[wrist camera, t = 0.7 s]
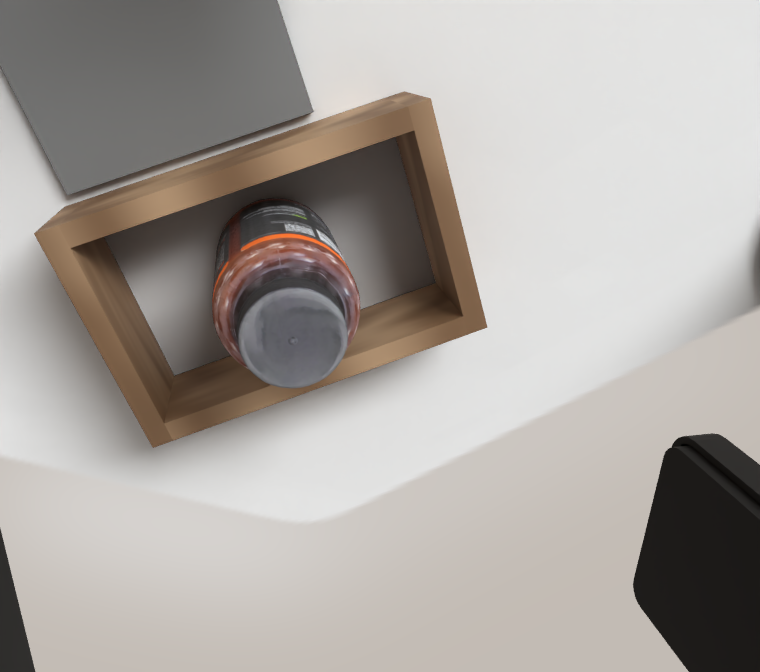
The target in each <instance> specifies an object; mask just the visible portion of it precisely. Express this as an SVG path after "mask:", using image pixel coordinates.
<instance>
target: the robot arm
mask: <svg viewBox="0 0 760 672" xmlns="http://www.w3.org/2000/svg"><path fill="white" fill-rule="evenodd" d="M633 588H634V593H635V597H636V600H637V602H638V604H639V605H640V607H641V609H642V610H643V611H644V613H645V614H646V615H647V616H648V617H649V619H650V620H651V622H652V623H653V624H654V626H655V627H656V629H657V630H658V631H659V633H661V635H662V637H663V638H664V639H665V640H666V642H667V643H668V645H669V646H670V647H671V649H672V650H673V651H674V653H675V654H676V655H677V656H678V658H679V659H680V660H681V662H682V663H683V665H684V666H685V667H686V669H687V670H688V671H689V672H760V465H759V464H758V463H757V462H755V461H754V460H753V459H752V458H750V457H749V456H748V455H746V454H745V453H744V452H743V451H741V450H740V449H739V448H737V447H736V446H735V445H733V444H732V443H731V442H730V441H728V440H727V439H726V438H724V437H723V436H721V435H719V434H703V435H693V436H684V437H680V438H678V439H677V440H676V441H675V442H674V443H673V445H672V448H669V449H668V450H667V451H666V452H665V455H664V458H663V462H662V466H661V470H660V474H659V479H658V483H657V487H656V491H655V495H654V499H653V503H652V507H651V511H650V515H649V519H648V523H647V528H646V532H645V536H644V540H643V544H642V548H641V552H640V556H639V560H638V564H637V568H636V573H635V577H634V583H633ZM0 672H35V669H34V665H33V660H32V656H31V652H30V648H29V644H28V640H27V636H26V632H25V628H24V624H23V619H22V615H21V611H20V607H19V603H18V599H17V595H16V591H15V587H14V583H13V579H12V575H11V570H10V566H9V562H8V558H7V554H6V550H5V546H4V542H3V538H2V533H1V530H0Z"/></svg>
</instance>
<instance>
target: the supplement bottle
mask: <svg viewBox="0 0 760 672" xmlns="http://www.w3.org/2000/svg"><path fill="white" fill-rule="evenodd" d="M212 302H213V303H212V312H213V321H214V325H215V329H216V331H217V334H218V336H219V339H220V341H221V342H222V344H223V346H224V347H225V349H226V350H227V351H228V352H229V354H230V355H231V356H232V357H233V358H234V359H235V360H236V361H238V362H239V363H240V364H241V365H243V366H244V367H246V368H247V369H249V370H250V371H251V372H252V373H253V374H254V375H255V376H256V377H258V378H259V379H260V380H262V381H264V382H265V383H268V384H270V385H273V386H277V387H281V388H302V387H306V386H310V385H312V384H315V383H317V382H319V381H321V380H323V379H324V378H326V377H327V376H328V375H330V374H331V373H332V372H333V371H334V370H335V368H336V367H337V366H338V365H339V363H340V362H341V360H342V358H343V356H344V354H345V351H346V350H347V348H348V346H349V345H350V343H351V341H352V340H353V337H354V335H355V334H356V330H357V328H358V323H359V318H360V297H359V292H358V289H357V286H356V283H355V281H354V278H353V276H352V274H351V272H350V270H349V268H348V266H347V264H346V262H345V260H344V258H343V256H342V254H341V252H340V250H339V249H338V247H337V245H336V243H335V241H334V238H333V237H332V235H331V233H330V231H329V229H328V228H327V226H326V225H325V223H324V222H323V221H322V219H321V218H320V217H319V216H318V215H316V213H315V212H313V211H312V210H311V209H310V208H308V207H306V206H304V205H302V204H300V203H297V202H294V201H291V200H287V199H264V200H260V201H256V202H254V203H252V204H250V205H248V206H246V207H244V208H243V209H241V210H240V211H239V212H237V213H236V214H235V215H234V216H233V217H232V218H231V219H230V221H229V222H228V223H227V224H226V226H225V228H224V229H223V232H222V234H221V237H220V240H219V244H218V248H217V255H216V266H215V277H214V288H213V300H212Z"/></svg>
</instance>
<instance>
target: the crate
mask: <svg viewBox="0 0 760 672" xmlns="http://www.w3.org/2000/svg"><path fill="white" fill-rule="evenodd" d="M393 137H396V141H397V145H398V148H399V152H400V155H401V159H402V163H403V166H404V170H405V173H406V177H407V181H408V184H409V188H410V191H411V195H412V199H413V202H414V206H415V209H416V213H417V217H418V220H419V224H420V228H421V231H422V235H423V238H424V242H425V246H426V249H427V253H428V256H429V260H430V264H431V267H432V271H433V274H434V278H435V282H436V283H434V284H432V285H429V286H426V287H423V288H420V289H418V290H415V291H412V292H409V293H406V294H403V295H401V296H398V297H395V298H392V299H389V300H387V301H384V302H381V303H378V304H375V305H372V306H370V307H367V308H364V309H361V310H360V318H359V323H358V328H357V330H356V334H355V335H354V337H353V340H352V341H351V343H350V345H349V346H348V348H347V350H346V351H345V354H344V356H343V358H342V360H341V362H340V363H339V365H338V366H337V367H336V368H335V370H334V371H333V372H332V373H331V374H330V375H328V376H327V377H326V378H324V379H323V380H321V381H319V382H317V383H315V384H312V385H310V386H306V387H302V388H281V387H277V386H273V385H270V384H268V383H265V382H264V381H262V380H260V379H259V378H258V377H256V376H255V375H254V374H253V373H252V372H251V371H250V370H249V369H247V368H246V367H244V366H243V365H241V364H240V363H239V362H238V361H236V360H235V359H234V358H233V357H232V356H229V357H226V358H223V359H220V360H218V361H215V362H212V363H209V364H206V365H203V366H201V367H198V368H195V369H192V370H189V371H187V372H184V373H181V374H178V375H175V376H174V374H173V372H172V370H171V368H170V366H169V364H168V362H167V360H166V358H165V356H164V355H163V353H162V351H161V349H160V347H159V345H158V343H157V341H156V339H155V337H154V335H153V333H152V331H151V329H150V327H149V325H148V323H147V321H146V319H145V317H144V315H143V313H142V311H141V309H140V307H139V305H138V303H137V301H136V299H135V297H134V295H133V293H132V291H131V289H130V287H129V285H128V283H127V281H126V279H125V277H124V276H123V274H122V272H121V270H120V268H119V266H118V264H117V262H116V260H115V258H114V256H113V254H112V252H111V250H110V248H109V246H108V244H107V242H106V240H105V238H104V236H107V235H110V234H113V233H116V232H119V231H122V230H125V229H128V228H131V227H134V226H136V225H139V224H142V223H145V222H148V221H151V220H154V219H157V218H160V217H163V216H166V215H169V214H171V213H174V212H177V211H180V210H183V209H186V208H189V207H192V206H195V205H198V204H201V203H204V202H206V201H209V200H212V199H215V198H218V197H221V196H224V195H227V194H230V193H233V192H236V191H239V190H242V189H244V188H247V187H250V186H253V185H256V184H259V183H262V182H265V181H268V180H271V179H274V178H277V177H279V176H282V175H285V174H288V173H291V172H294V171H297V170H300V169H303V168H306V167H309V166H312V165H314V164H317V163H320V162H323V161H326V160H329V159H332V158H335V157H338V156H341V155H344V154H347V153H350V152H352V151H355V150H358V149H361V148H364V147H367V146H370V145H373V144H376V143H379V142H382V141H385V140H387V139H390V138H393ZM34 234H35V236H36V238H37V240H38V242H39V243H40V245H41V247H42V249H43V251H44V252H45V254H46V256H47V258H48V260H49V261H50V263H51V265H52V267H53V269H54V270H55V272H56V274H57V276H58V278H59V279H60V281H61V283H62V285H63V287H64V289H65V290H66V292H67V294H68V296H69V298H70V299H71V301H72V303H73V305H74V307H75V308H76V310H77V312H78V314H79V316H80V317H81V319H82V321H83V323H84V325H85V326H86V328H87V330H88V332H89V334H90V335H91V337H92V339H93V341H94V343H95V344H96V346H97V348H98V350H99V352H100V353H101V355H102V357H103V359H104V361H105V362H106V364H107V366H108V368H109V370H110V371H111V373H112V375H113V377H114V379H115V380H116V382H117V384H118V386H119V388H120V389H121V391H122V393H123V395H124V397H125V398H126V400H127V402H128V404H129V406H130V407H131V409H132V411H133V413H134V415H135V416H136V418H137V420H138V422H139V424H140V425H141V427H142V429H143V431H144V433H145V434H146V436H147V438H148V440H149V442H150V443H151V445H152V447H153V448H154V447H156V446H159V445H162V444H165V443H168V442H170V441H173V440H176V439H179V438H181V437H184V436H187V435H190V434H193V433H195V432H198V431H201V430H204V429H206V428H209V427H212V426H215V425H218V424H220V423H223V422H226V421H229V420H231V419H234V418H237V417H240V416H243V415H245V414H248V413H251V412H254V411H256V410H259V409H262V408H265V407H268V406H270V405H273V404H276V403H279V402H281V401H284V400H287V399H290V398H293V397H295V396H298V395H301V394H304V393H306V392H309V391H312V390H315V389H318V388H320V387H323V386H326V385H329V384H331V383H334V382H337V381H340V380H343V379H345V378H348V377H351V376H354V375H356V374H359V373H362V372H365V371H368V370H370V369H373V368H376V367H379V366H381V365H384V364H387V363H390V362H393V361H395V360H398V359H401V358H404V357H406V356H409V355H412V354H415V353H418V352H420V351H423V350H426V349H429V348H431V347H434V346H437V345H440V344H443V343H445V342H448V341H451V340H454V339H456V338H459V337H462V336H465V335H468V334H470V333H473V332H476V331H479V330H481V329H484V328H487V324H486V320H485V316H484V312H483V308H482V304H481V300H480V296H479V292H478V288H477V284H476V280H475V276H474V272H473V268H472V264H471V260H470V256H469V252H468V247H467V243H466V239H465V235H464V231H463V227H462V223H461V219H460V215H459V211H458V207H457V203H456V199H455V195H454V191H453V187H452V183H451V179H450V175H449V171H448V167H447V163H446V159H445V155H444V150H443V146H442V142H441V138H440V134H439V130H438V126H437V122H436V118H435V114H434V110H433V106H432V102H431V99H430V98H427V97H423V96H419V95H415V94H411V93H408V92H401V93H398V94H395V95H393V96H390V97H387V98H384V99H381V100H378V101H375V102H372V103H369V104H366V105H363V106H360V107H357V108H354V109H351V110H348V111H345V112H342V113H339V114H337V115H334V116H331V117H328V118H325V119H322V120H319V121H316V122H313V123H310V124H307V125H304V126H301V127H298V128H295V129H292V130H289V131H286V132H283V133H281V134H278V135H275V136H272V137H269V138H266V139H263V140H260V141H257V142H254V143H251V144H248V145H245V146H242V147H239V148H236V149H233V150H230V151H227V152H225V153H222V154H219V155H216V156H213V157H210V158H207V159H204V160H201V161H198V162H195V163H192V164H189V165H186V166H183V167H180V168H177V169H174V170H171V171H169V172H166V173H163V174H160V175H157V176H154V177H151V178H148V179H145V180H142V181H139V182H136V183H133V184H130V185H127V186H124V187H121V188H118V189H115V190H113V191H110V192H107V193H104V194H101V195H98V196H95V197H92V198H89V199H86V200H83V201H80V202H77V203H74V204H71V205H68V206H65V207H64V208H63V209H62V210H60V211H59V212H58V213H57V214H56V215H55V216H54V217H52V218H51V219H50V220H49V221H48V222H47V223H46V224H44V225H43V226H42V227H41V228H40V229H39V230H38V231H37V232H35V233H34Z"/></svg>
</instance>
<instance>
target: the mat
mask: <svg viewBox="0 0 760 672" xmlns="http://www.w3.org/2000/svg"><path fill="white" fill-rule="evenodd" d="M0 66H1V68H2V70H3V72H4V74H5V76H6V78H7V80H8V82H9V84H10V86H11V88H12V90H13V92H14V94H15V95H16V97H17V99H18V101H19V103H20V105H21V107H22V109H23V111H24V113H25V115H26V117H27V119H28V121H29V123H30V124H31V126H32V128H33V130H34V132H35V134H36V136H37V138H38V140H39V142H40V144H41V146H42V148H43V150H44V152H45V153H46V155H47V157H48V159H49V161H50V163H51V165H52V167H53V169H54V171H55V173H56V175H57V177H58V179H59V181H60V182H61V184H62V186H63V188H64V190H65V192H66V194H67V195H70V194H72V193H75V192H78V191H81V190H84V189H87V188H90V187H93V186H96V185H99V184H102V183H105V182H108V181H111V180H114V179H117V178H120V177H123V176H126V175H129V174H132V173H135V172H137V171H140V170H143V169H146V168H149V167H152V166H155V165H158V164H161V163H164V162H167V161H170V160H173V159H176V158H179V157H182V156H185V155H188V154H191V153H194V152H197V151H200V150H202V149H205V148H208V147H211V146H214V145H217V144H220V143H223V142H226V141H229V140H232V139H235V138H238V137H241V136H244V135H247V134H250V133H253V132H256V131H259V130H262V129H265V128H267V127H270V126H273V125H276V124H279V123H282V122H285V121H288V120H291V119H294V118H297V117H300V116H303V115H306V114H309V113H312V112H313V109H312V106H311V103H310V99H309V96H308V93H307V90H306V87H305V84H304V81H303V78H302V75H301V72H300V69H299V66H298V63H297V60H296V57H295V54H294V50H293V47H292V44H291V41H290V38H289V35H288V32H287V29H286V26H285V23H284V20H283V17H282V14H281V11H280V8H279V5H278V1H277V0H0Z"/></svg>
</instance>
